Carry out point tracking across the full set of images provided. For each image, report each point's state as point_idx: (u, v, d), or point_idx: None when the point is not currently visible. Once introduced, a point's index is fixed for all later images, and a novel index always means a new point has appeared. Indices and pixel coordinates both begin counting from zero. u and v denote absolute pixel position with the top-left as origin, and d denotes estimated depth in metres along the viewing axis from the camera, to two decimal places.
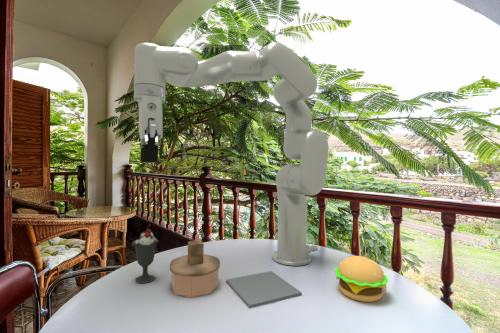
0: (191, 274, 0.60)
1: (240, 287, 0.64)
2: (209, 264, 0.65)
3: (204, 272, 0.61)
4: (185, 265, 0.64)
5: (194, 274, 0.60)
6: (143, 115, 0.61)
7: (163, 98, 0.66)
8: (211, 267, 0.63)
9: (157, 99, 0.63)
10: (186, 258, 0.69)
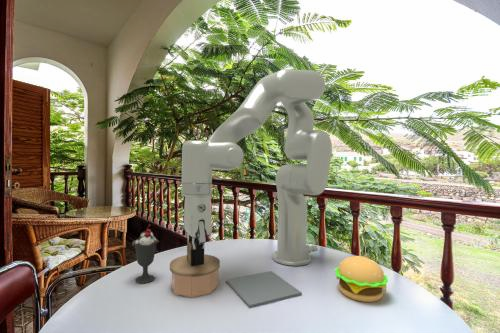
0: (191, 274, 0.60)
1: (240, 287, 0.64)
2: (209, 264, 0.65)
3: (204, 272, 0.61)
4: (185, 265, 0.64)
5: (194, 274, 0.60)
6: (194, 217, 0.61)
7: (210, 193, 0.65)
8: (211, 267, 0.63)
9: (206, 199, 0.63)
10: (186, 258, 0.69)
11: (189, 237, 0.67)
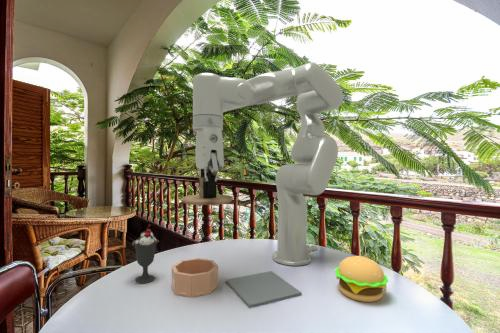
0: (204, 202, 0.60)
1: (240, 287, 0.64)
2: (221, 197, 0.65)
3: (217, 201, 0.61)
4: (197, 198, 0.64)
5: (207, 202, 0.60)
6: (206, 147, 0.61)
7: (222, 127, 0.65)
8: (223, 199, 0.63)
9: (218, 130, 0.62)
10: (198, 195, 0.69)
11: (201, 173, 0.67)
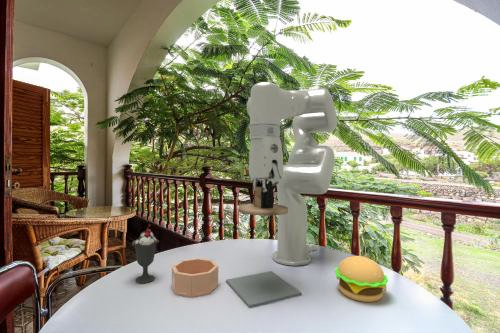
0: (266, 213, 0.59)
1: (240, 287, 0.64)
2: (278, 208, 0.64)
3: (278, 212, 0.60)
4: (255, 208, 0.63)
5: (269, 213, 0.59)
6: (267, 157, 0.60)
7: (279, 137, 0.65)
8: (282, 209, 0.62)
9: (278, 140, 0.62)
10: (251, 205, 0.68)
11: (256, 183, 0.67)
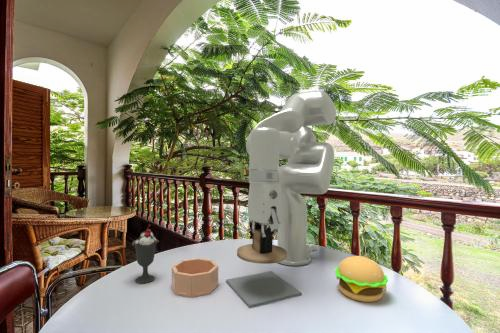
0: (265, 260, 0.59)
1: (240, 287, 0.64)
2: (277, 252, 0.64)
3: (276, 259, 0.60)
4: (254, 253, 0.63)
5: (267, 261, 0.59)
6: (266, 204, 0.60)
7: (278, 181, 0.65)
8: (281, 255, 0.62)
9: (277, 186, 0.62)
10: (250, 247, 0.68)
11: (255, 225, 0.67)
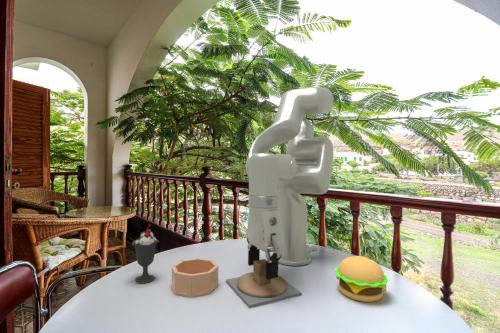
0: (265, 295, 0.59)
1: None
2: (277, 284, 0.64)
3: (276, 293, 0.60)
4: (254, 285, 0.63)
5: (267, 296, 0.59)
6: (266, 231, 0.61)
7: None
8: (281, 288, 0.62)
9: (277, 212, 0.62)
10: (250, 277, 0.68)
11: (250, 243, 0.69)
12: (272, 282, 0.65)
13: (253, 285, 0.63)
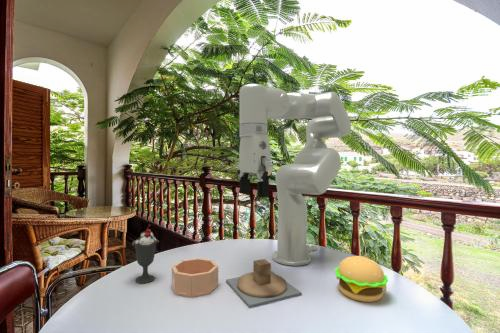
0: (265, 295, 0.59)
1: None
2: (277, 284, 0.64)
3: (276, 293, 0.60)
4: (254, 285, 0.63)
5: (267, 296, 0.59)
6: (256, 154, 0.66)
7: None
8: (281, 288, 0.62)
9: (266, 137, 0.67)
10: (250, 277, 0.68)
11: None
12: (272, 282, 0.65)
13: (253, 285, 0.63)
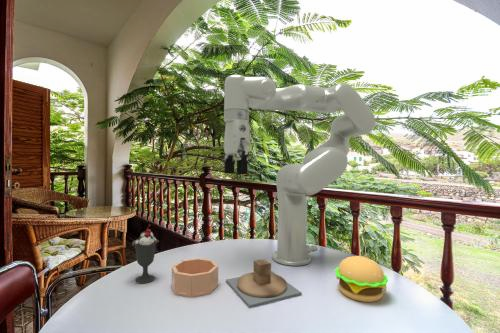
0: (265, 295, 0.59)
1: None
2: (277, 284, 0.64)
3: (276, 293, 0.60)
4: (254, 285, 0.63)
5: (267, 296, 0.59)
6: (236, 135, 0.74)
7: (248, 120, 0.79)
8: (281, 288, 0.62)
9: (246, 122, 0.76)
10: (250, 277, 0.68)
11: None
12: (272, 282, 0.65)
13: (253, 285, 0.63)
